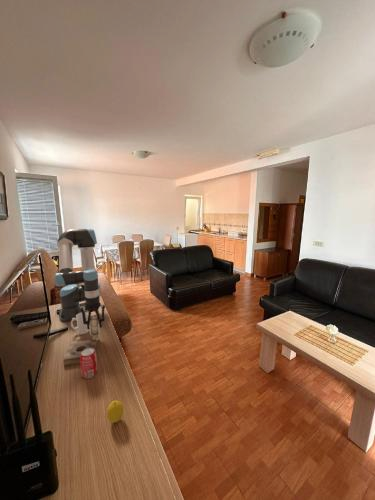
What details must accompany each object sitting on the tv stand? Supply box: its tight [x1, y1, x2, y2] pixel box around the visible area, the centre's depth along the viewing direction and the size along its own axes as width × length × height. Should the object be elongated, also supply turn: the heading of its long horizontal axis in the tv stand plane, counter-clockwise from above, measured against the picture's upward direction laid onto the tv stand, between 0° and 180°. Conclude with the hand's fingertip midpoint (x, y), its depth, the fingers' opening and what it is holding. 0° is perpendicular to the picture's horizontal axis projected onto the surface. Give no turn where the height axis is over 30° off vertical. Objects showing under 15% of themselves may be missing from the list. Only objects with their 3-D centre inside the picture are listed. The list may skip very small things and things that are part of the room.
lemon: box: [106, 399, 124, 424], centre depth 76 cm, size 6×6×8 cm
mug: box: [70, 311, 90, 335], centre depth 134 cm, size 10×7×12 cm, turn 120°
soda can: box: [79, 348, 98, 379], centre depth 98 cm, size 7×7×12 cm
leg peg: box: [90, 316, 100, 342], centre depth 125 cm, size 4×4×14 cm
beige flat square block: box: [62, 339, 98, 367], centre depth 113 cm, size 14×14×4 cm
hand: (95, 333), depth 126 cm, fingers closed on leg peg, 4 cm apart
